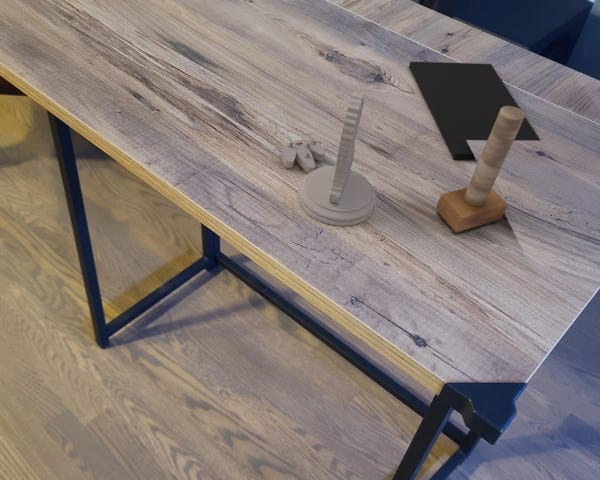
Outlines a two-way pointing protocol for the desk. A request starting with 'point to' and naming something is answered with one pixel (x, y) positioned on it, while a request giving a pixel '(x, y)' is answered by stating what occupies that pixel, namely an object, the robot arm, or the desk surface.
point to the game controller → (302, 153)
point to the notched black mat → (465, 102)
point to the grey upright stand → (340, 181)
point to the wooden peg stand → (482, 180)
